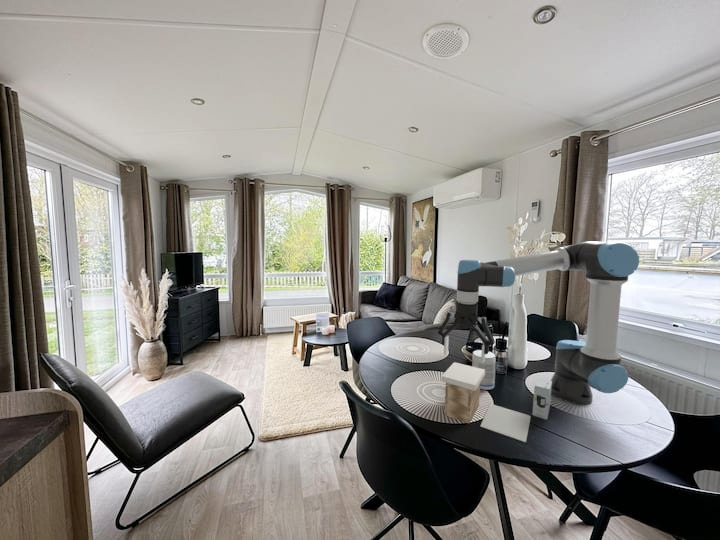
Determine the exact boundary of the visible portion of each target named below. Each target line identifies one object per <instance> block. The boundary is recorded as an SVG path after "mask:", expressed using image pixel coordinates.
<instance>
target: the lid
mask: <svg viewBox="0 0 720 540" xmlns="http://www.w3.org/2000/svg"><path fill="white" fill-rule="evenodd" d="M484 375H485V370H484V369H480V368H476V367H472V365H467V364H462V363H461V362H460V363H459V362H455V361H454V362H453V363H452V364H451V365H450V366H449V367H448V368H447V369H446V370H445V371H444V373H443V374H442V375H441V379H440V380H441V382H442V383H443V382H444V383H445V384H446V383H449V384H453V385H456V386H460V387H463V388H467V389H470V390H474V391H476V389H477V387H478V386H479V384H480V382H481V380H482V379H483V377H484Z"/></svg>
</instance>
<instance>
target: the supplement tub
mask: <svg viewBox="0 0 720 540" xmlns="http://www.w3.org/2000/svg"><path fill="white" fill-rule="evenodd" d="M481 356H482V349H475V350H474V351H472V357H471V358H472V359H471V361H472V362H471V366H472V367H476V368H480V369H484V370H485V375H484V377H483V379H482V380H481V382H480V390H486V391H488V390H493V389H494V388H495V385H496V384H495V383H496V381H495V379H496V354H495V353H493V352H491V351H489V352H488V354H485V362H484V363H481Z"/></svg>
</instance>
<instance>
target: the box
mask: <svg viewBox="0 0 720 540" xmlns="http://www.w3.org/2000/svg"><path fill="white" fill-rule="evenodd" d="M480 390H481V389H480V384H479V386H478V387H477V389H476V391H474V390H470V389H467V388H463V387H460V386H456V385H453V384H449V383H446V382H445V393H444V395H445V396H444V397H445V400H444V416H447V417H450V418H453V419H455V420H457V421H461V422H463V423H466V424H471V421H473V417H474V416H475V414H476V412H477V410H478V408H479V406H480Z"/></svg>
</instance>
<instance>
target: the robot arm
mask: <svg viewBox="0 0 720 540" xmlns="http://www.w3.org/2000/svg"><path fill="white" fill-rule="evenodd" d="M639 265H640V256H639V254H638V252H637V251H636V249H635V248H634V247H632V245H631V244H629V243H626V242H620V241H613V240H611V241H592V240H591V241H590V240H589V241H583V242H577V243H575V244H570V245H565V246H559V247H556V248H555V249H554V250H553V251H546V252H541V253H540V252H539V253H535V254H534V253H533V254H527V255H522V256H516V257H510V258H504V259H498V260H494V261H488V262H481V261H480V260H475V259H462V260H459V261H458V266H457V282H456V286H457V287H456V298H455V300H456V303H455V312H454V313H453V312H452V311H448V312H447V313H446V318H445V319H444V320H443V323H442V324H441V326H440V327H439V329H438V331H437V334H438V335H440V336H441V345H444V346H443V347H444V348H443V354H444V355H447V354H448V353H449V343H450V342H449V341H450V339H449V337H450V336H449V335H448V334H450V333H451V332H452V331H453V330H454V329H455V328H457V326H460V327H463V328H467V329H468V328H471V329H472V330H473V331H474V333H475V334H476V335H477V337H478V338H479V340H480V341H481V342H482V343H483V344H482V345H481V350H482V356H481V363H484V362H485V354H488V352H490V351H489V350H490V346H494V344H495V343H496V341H495V339H494V336H493V333H492V332H491V329H490V327H489V325H488V322H487V317H486V316H482V317H480V316H478V310H479V309H478V308H479V304H478V302H479V292H480V290H479V289H480V288H479V287H493V288H494V287H496V288H509V287H512V286H513V285H514V283H515V281H516V277H519V276H524V275H525V276H526V275H531V274H537V273H542V272H549V271H556V270H559V271H561V272H565V271H581V272H585V279H586V280H587V281H588V282H589V283H590V284H589V299H588V312H587V323H586V324H587V325H586V338H585V341H579V340H572V339H563V340H559V341H558V342H557V343H556V347H555V350H556V351H555V361H554V372H553V373H554V374H553V375H552V377H551V379H550V381H552V388H551V396H553V397H556V398H557V399H558V400H559V399H560V400H562V401H565V402H569V403H572V404H577V405H588V404H591V403H592V402H593V391H592V389H595V390H596V391H598V392H599V393H600V392H601V393H602V394H614V393H617V392H619V391H621V389H624V387H625V386H626V385H627V383H628V382H629V372H628V371H627V369H625V367H624V366H623V365H621V362H622V361H621V360H622V355H621V354H620V353H619V352H618V351H617V341H618V328H619V319H620V318H619V316H620V308H621V297H622V296H621V294H622V286H623V285H624V284H625V283H626V282H628V281H629V276H630V275H632V274H634V273H635V271H637V269H638V267H639ZM453 318H454V319H455V322H454V323H453V324H452V325H451V326H450V327H449V328H447V330H445V329H446V327H447V326H448V325H449V322H450V321H451V320H452V319H453ZM478 321H479V323H480V324H481V327H482V328H483V331H484V332H483V331H482V330H481V329H480V327H479V325H478V324H477V322H478ZM444 330H445V331H444ZM484 333H485V334H484ZM591 388H592V389H591Z"/></svg>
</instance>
